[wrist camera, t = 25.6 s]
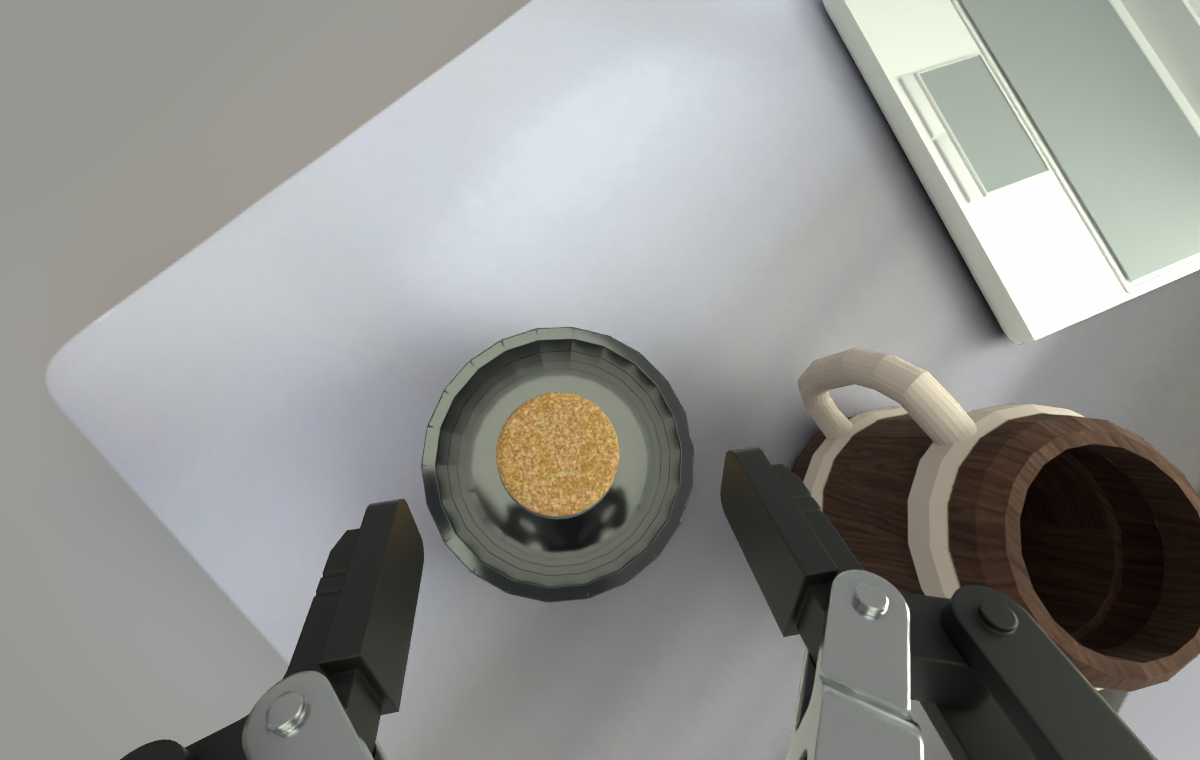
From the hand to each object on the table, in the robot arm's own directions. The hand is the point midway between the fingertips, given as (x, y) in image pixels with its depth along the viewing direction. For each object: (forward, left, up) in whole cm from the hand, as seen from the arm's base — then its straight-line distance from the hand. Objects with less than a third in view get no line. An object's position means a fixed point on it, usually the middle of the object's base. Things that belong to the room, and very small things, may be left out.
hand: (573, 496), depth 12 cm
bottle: (0, +1, -21) cm, 21 cm away
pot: (0, +1, -21) cm, 21 cm away
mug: (+18, -11, -22) cm, 30 cm away
